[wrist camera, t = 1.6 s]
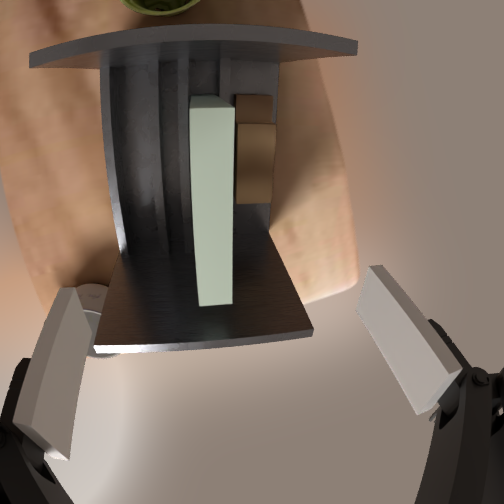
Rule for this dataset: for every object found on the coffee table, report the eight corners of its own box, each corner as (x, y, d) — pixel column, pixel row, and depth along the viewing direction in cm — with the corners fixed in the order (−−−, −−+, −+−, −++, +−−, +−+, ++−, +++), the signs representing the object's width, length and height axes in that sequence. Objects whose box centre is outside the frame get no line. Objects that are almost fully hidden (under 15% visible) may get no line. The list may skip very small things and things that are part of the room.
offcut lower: (234, 93, 31) (236, 94, 29) (269, 94, 32) (273, 95, 30) (231, 191, 37) (234, 197, 36) (263, 190, 38) (267, 196, 36)
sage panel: (191, 94, 30) (189, 108, 15) (213, 94, 31) (234, 107, 16) (193, 208, 38) (199, 306, 23) (213, 207, 38) (232, 303, 23)
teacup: (133, 278, 43) (126, 315, 37) (132, 329, 48) (127, 365, 42) (49, 266, 39) (31, 300, 33) (57, 317, 44) (45, 352, 38)
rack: (109, 62, 27) (29, 53, 11) (276, 55, 31) (357, 40, 14) (126, 242, 40) (96, 352, 24) (265, 233, 43) (311, 336, 27)
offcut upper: (235, 121, 31) (238, 123, 29) (271, 121, 32) (276, 124, 30) (234, 197, 36) (236, 204, 34) (267, 196, 36) (271, 202, 35)
